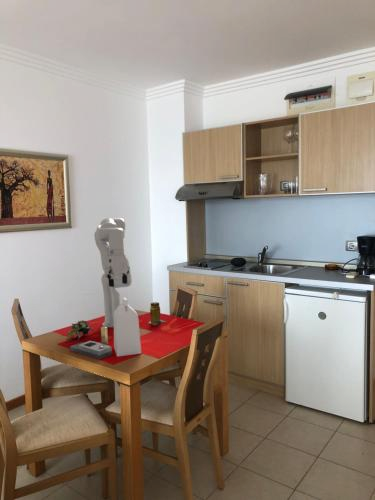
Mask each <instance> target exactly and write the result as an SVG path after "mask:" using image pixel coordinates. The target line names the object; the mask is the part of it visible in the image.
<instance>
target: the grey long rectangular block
mask: <svg viewBox="0 0 375 500" xmlns="http://www.w3.org/2000/svg"><path fill="white" fill-rule="evenodd" d="M69 350H70V351H71V352H75V353H78V354H81V355H83V356H87V357H90V358H92V359H93V358H94V359H96V360H101V359H105V358H107V357H109V356H112V355H113V350H112V346H110V345H109V344H108V345H104V344H102V342H97V341H94V340H93V341H92V340H88V341H86V342H83V341H82V342H78V343H76V344H74V345H71V346H69Z"/></svg>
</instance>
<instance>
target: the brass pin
mask: <svg viewBox="0 0 375 500" xmlns="http://www.w3.org/2000/svg"><path fill="white" fill-rule="evenodd" d="M100 335H101V337H100V338H101V339H100V340H101V344H104V345H108V346H109V336H108V327H106V326H103V325H102V326H101V327H100Z"/></svg>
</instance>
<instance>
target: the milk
mask: <svg viewBox="0 0 375 500" xmlns="http://www.w3.org/2000/svg"><path fill="white" fill-rule="evenodd" d="M139 321H140V320H139V315H138V313H137V311H136V310H135V309H134V308H133V307H132V306H131V305H130V304H129V303H128V299H127V297H125V296H124V297H123V296H122V302H121V305H120V306H118V307H117V309H116V310H115V311H114V327H113V345H114V346H113V348H114V351H115V355H116V357H123V356H124V357H125V356H131V355H137V354H138V355H139V354H142V345H141V334H140V324H139V323H140V322H139Z"/></svg>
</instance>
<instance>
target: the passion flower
mask: <svg viewBox="0 0 375 500" xmlns="http://www.w3.org/2000/svg"><path fill="white" fill-rule="evenodd" d="M71 325H72V326H71V329H70V330H69V331H68V333H67V337H68V338H72V337H73V335H74V338H77V337H78V339H77V340H78V341H79V340H80V338H81V337H82V336H86V335H87V336H88V335H90V333H89V332H94V331H95V330H94V329H92V328H91V326H90V324H89V323H88V322H87V320H78V321H77V322H75V323H74V322H73V323H71Z"/></svg>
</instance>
